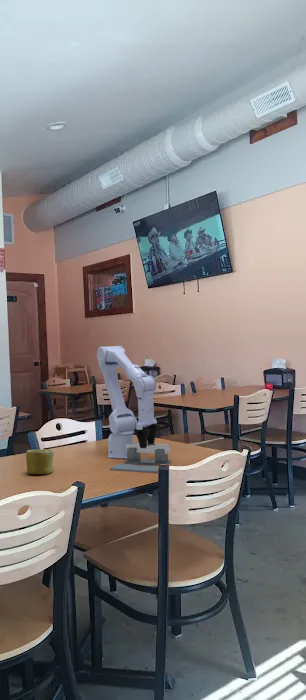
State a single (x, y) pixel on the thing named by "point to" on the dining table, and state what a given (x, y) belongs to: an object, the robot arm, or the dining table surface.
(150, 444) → the rail
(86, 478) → the dining table surface
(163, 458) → the rack
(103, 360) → the robot arm
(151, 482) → the dining table surface
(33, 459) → the mug
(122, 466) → the mat
